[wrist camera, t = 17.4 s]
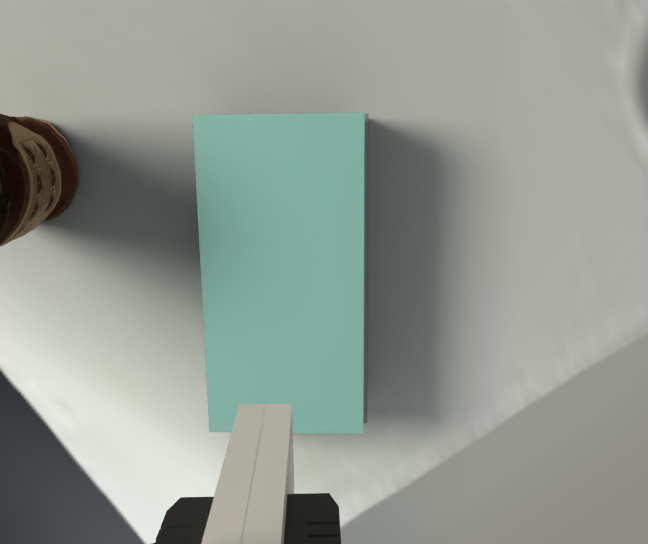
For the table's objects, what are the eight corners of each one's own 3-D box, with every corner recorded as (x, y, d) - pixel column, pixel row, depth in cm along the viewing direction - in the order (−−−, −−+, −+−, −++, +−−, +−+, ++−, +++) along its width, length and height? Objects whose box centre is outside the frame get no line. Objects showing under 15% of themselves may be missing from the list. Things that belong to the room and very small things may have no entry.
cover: (195, 115, 32) (192, 114, 31) (364, 113, 32) (364, 112, 31) (212, 426, 36) (209, 431, 35) (363, 428, 35) (363, 433, 35)
